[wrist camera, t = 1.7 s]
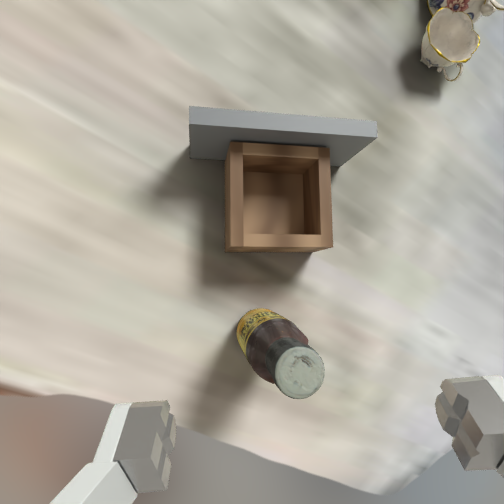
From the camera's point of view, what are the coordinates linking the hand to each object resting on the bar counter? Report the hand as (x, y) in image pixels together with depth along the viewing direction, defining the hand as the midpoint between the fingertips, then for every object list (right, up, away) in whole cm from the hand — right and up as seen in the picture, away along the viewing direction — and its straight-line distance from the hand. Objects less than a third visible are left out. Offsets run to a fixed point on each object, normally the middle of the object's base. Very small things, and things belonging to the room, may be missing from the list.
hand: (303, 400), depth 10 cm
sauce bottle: (-1, -6, +35) cm, 35 cm away
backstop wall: (+1, +18, +37) cm, 41 cm away
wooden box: (+1, +11, +37) cm, 38 cm away
